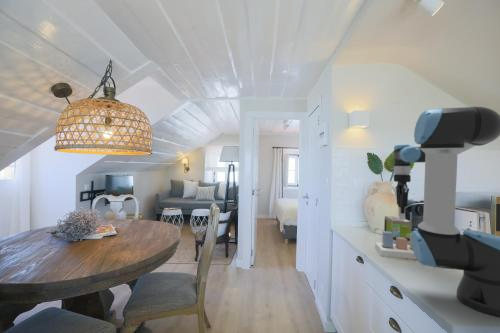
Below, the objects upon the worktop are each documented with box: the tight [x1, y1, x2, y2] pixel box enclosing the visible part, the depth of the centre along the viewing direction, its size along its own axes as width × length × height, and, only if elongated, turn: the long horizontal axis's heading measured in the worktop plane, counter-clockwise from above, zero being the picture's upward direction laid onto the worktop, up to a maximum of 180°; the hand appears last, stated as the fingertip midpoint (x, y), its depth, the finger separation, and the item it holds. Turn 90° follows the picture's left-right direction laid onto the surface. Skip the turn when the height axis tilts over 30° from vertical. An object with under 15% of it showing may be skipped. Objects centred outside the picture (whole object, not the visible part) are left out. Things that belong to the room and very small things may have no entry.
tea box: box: [383, 215, 412, 245], centre depth 147 cm, size 15×10×15 cm, turn 168°
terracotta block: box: [396, 237, 407, 250], centre depth 128 cm, size 4×4×7 cm
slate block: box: [381, 230, 393, 247], centre depth 129 cm, size 4×4×7 cm
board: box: [374, 241, 416, 260], centre depth 128 cm, size 14×22×3 cm, turn 75°
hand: (401, 219), depth 128 cm, fingers closed
